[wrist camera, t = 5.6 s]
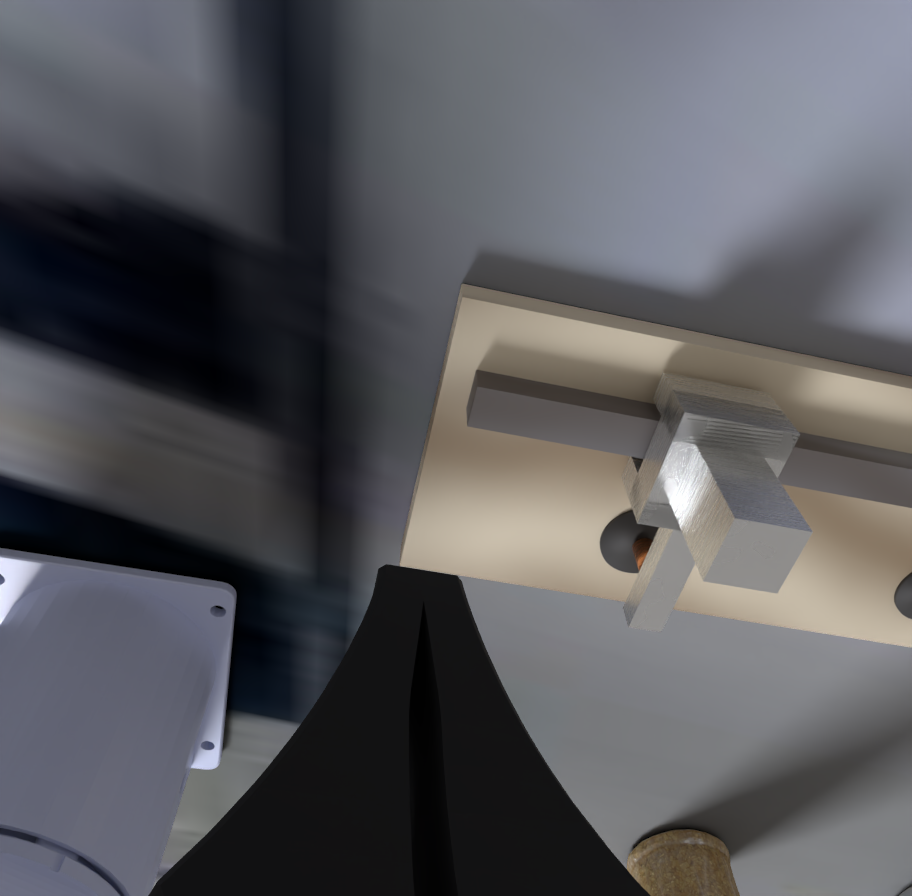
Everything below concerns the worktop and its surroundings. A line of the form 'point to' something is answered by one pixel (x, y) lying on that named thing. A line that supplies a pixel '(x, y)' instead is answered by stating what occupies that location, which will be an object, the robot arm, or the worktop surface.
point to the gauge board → (629, 434)
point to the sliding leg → (711, 496)
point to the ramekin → (907, 892)
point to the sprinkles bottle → (683, 865)
